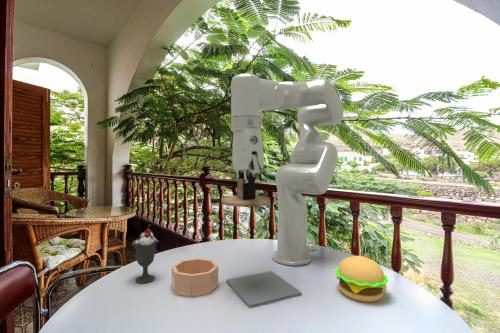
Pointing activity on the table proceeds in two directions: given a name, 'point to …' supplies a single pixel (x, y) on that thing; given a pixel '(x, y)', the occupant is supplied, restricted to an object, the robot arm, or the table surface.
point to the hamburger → (361, 279)
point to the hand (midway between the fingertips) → (246, 197)
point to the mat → (262, 288)
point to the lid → (240, 201)
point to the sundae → (145, 254)
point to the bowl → (194, 277)
